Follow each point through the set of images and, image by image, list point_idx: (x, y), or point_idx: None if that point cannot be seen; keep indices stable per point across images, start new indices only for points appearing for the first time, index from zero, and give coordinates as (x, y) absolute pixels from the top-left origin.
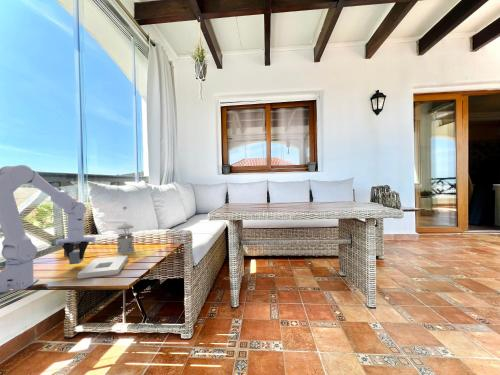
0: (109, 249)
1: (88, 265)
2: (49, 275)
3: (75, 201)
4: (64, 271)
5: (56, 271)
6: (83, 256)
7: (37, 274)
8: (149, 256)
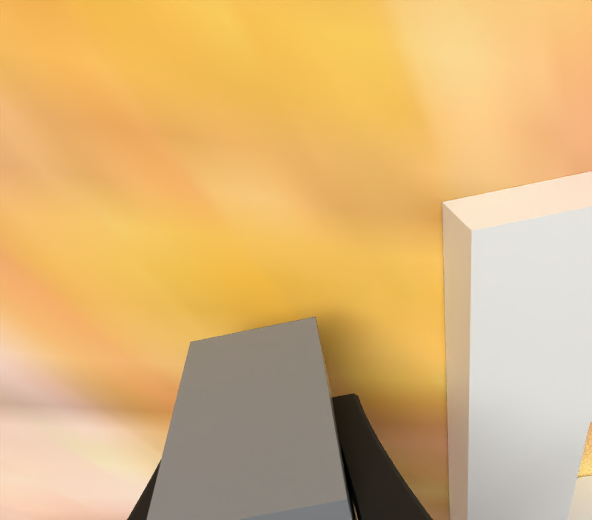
0: None
1: (484, 472)
2: None
3: None
4: None
5: (137, 435)
6: (363, 415)
7: (12, 483)
8: None
